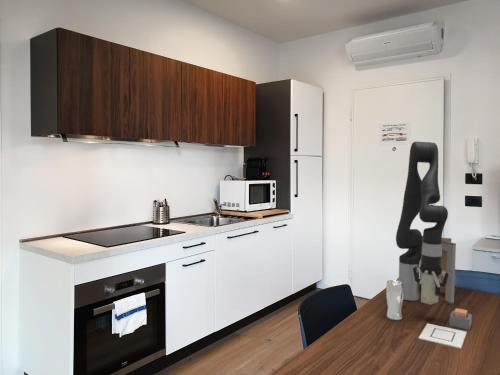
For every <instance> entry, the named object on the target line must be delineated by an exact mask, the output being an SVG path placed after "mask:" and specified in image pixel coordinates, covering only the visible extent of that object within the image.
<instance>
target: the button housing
mask: <svg viewBox="0 0 500 375" xmlns="http://www.w3.org/2000/svg"><path fill="white" fill-rule="evenodd" d="M454 311H455V310H452V311H451V312H450V315H449V323H448V324H449V327H452V328H453V327H454V328H458V329H464V330H467V331H470V329H471V326H472V319H473V318H472V317H473V315H472V314H471V313H467V318H462V317H457V316H454Z"/></svg>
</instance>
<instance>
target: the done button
mask: <svg viewBox="0 0 500 375" xmlns="http://www.w3.org/2000/svg"><path fill="white" fill-rule="evenodd" d="M453 311H454V316H457V317H462V318H467V314H468V309H463V308H457V307H455V309H454V310H453Z"/></svg>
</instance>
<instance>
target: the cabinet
mask: <svg viewBox="0 0 500 375" xmlns="http://www.w3.org/2000/svg"><path fill="white" fill-rule="evenodd" d="M422 239H423V235H422ZM422 245H423V242H422ZM456 245H457V244H456V243H453V242H452V238H451V237H450V238H449V237H442V260H441V268H442V270H443V271H445V272H449V277H448V280H447V283H446V285H445V287H441V293H440V295H438V300H442V301H443V302H446V303H448V304H450V305H452V304H453V305H454V304H455V286H456V285H455V283H456V280H455V279H456V278H455V277H456V255H457V254H456V253H457V252H456V250H457V246H456ZM421 258H422V255H421ZM420 266H421V259H420ZM421 278H422V272H421V270H420V274H419V279H421ZM439 278H440V282H441V283H443V280H444V277H443V274H442V273H441V274H440V275H439ZM419 286H420V284H419Z"/></svg>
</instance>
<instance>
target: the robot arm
mask: <svg viewBox="0 0 500 375" xmlns="http://www.w3.org/2000/svg"><path fill="white" fill-rule="evenodd" d="M418 163H422V164H423V163H424V164H425V163H426V164H429V167H428V169H427V172H426V173H425V174H424V177H423V178H421V176H420V174H419V170H418ZM407 170H408V171H407V178H406V182H405V183H406V184H405V190H404V195H403V201H402V202H403V203H402V209H401V214H400V220H399V222H398V226H397V230H396V235H395V243H396V246H397V247H398V248H399V249H401V250H404V249H405V250H407V251H406V252H404V253H402V254H401V255H399V258H398V277H397V281H401V282H403V286H404V296H403V301H404V300H405V301H419V299H420V292H421V287H422V278H421V279H420V270H421V272H422V273H424V274H432V275H434V280H435V282H436V284H437V287H436V296H438V295H440V293H441V287H445V285H446V283H447V280H448V277H449V272H445V271H443V270H442V268H441V260H442V238H443V232H444V229H445V225H446V222H447V220H448V217H449V212H448V209H447V207H446V206H444V205H434V204H437V203H438V202H440V200H441V194H440V187H439V148H438V145H437V144H436V143H435V142H431V141H430V142H429V141H413V142H412V143H411V145H410V150H409V158H408V169H407ZM418 215H419V219H420V221H421V222H423V223H427V224H428V223H429V224H431V223H432V224H433V223H435V225H434V226H431V227H427V228H424V229H423V232H421V231H420V230H419V229H416V228H411V226H412V223H413V221H414V220H415V219H416V217H417V216H418ZM422 236H423V239H422ZM422 242H423V245H422ZM421 255H422V258H421ZM420 259H421V266H420ZM441 273H442V274H443V277H444V280H443V283H441V282H440V278H439V275H440V274H441ZM437 277H438V278H437ZM419 285H420V286H419Z"/></svg>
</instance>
